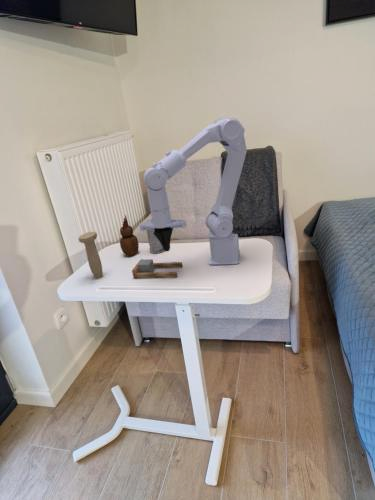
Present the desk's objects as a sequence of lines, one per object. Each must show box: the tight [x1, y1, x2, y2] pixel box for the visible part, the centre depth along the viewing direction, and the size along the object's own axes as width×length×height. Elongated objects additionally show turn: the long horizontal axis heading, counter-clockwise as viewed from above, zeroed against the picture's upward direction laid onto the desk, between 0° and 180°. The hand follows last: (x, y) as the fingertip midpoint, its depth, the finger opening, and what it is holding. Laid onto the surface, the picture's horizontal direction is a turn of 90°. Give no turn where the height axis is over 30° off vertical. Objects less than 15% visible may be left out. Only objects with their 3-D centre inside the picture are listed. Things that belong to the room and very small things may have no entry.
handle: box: [78, 231, 104, 279], centre depth 108 cm, size 5×6×15 cm
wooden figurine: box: [119, 214, 140, 257], centre depth 122 cm, size 7×6×15 cm
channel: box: [131, 259, 183, 280], centre depth 107 cm, size 14×8×3 cm, turn 78°
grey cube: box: [136, 258, 156, 273], centre depth 107 cm, size 4×4×4 cm
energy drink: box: [145, 218, 165, 254], centre depth 122 cm, size 5×5×12 cm
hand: (167, 250), depth 103 cm, fingers closed
